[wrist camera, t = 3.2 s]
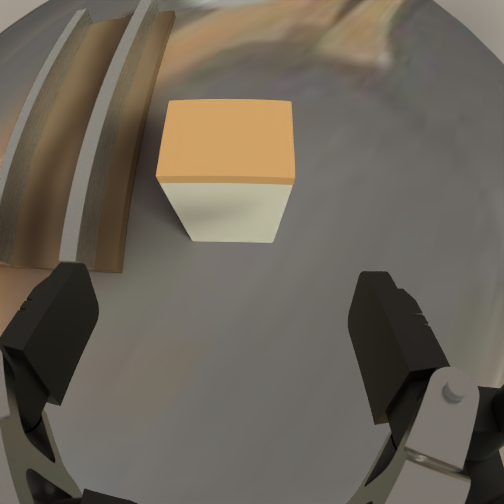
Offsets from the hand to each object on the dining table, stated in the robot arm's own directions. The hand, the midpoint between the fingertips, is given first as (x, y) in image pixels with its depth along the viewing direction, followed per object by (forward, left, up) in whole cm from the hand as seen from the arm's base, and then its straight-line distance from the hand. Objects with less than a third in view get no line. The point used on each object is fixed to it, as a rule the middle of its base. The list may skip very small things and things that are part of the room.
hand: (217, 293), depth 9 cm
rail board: (-13, +15, -10) cm, 22 cm away
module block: (0, +6, -10) cm, 12 cm away
